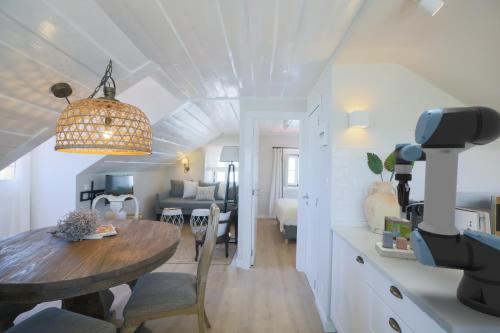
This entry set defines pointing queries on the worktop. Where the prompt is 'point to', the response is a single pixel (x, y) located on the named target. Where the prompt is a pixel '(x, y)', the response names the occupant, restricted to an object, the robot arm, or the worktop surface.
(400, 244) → the terracotta block
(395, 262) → the worktop surface
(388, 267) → the worktop surface
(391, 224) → the tea box
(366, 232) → the worktop surface
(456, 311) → the worktop surface
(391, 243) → the slate block
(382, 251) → the board
